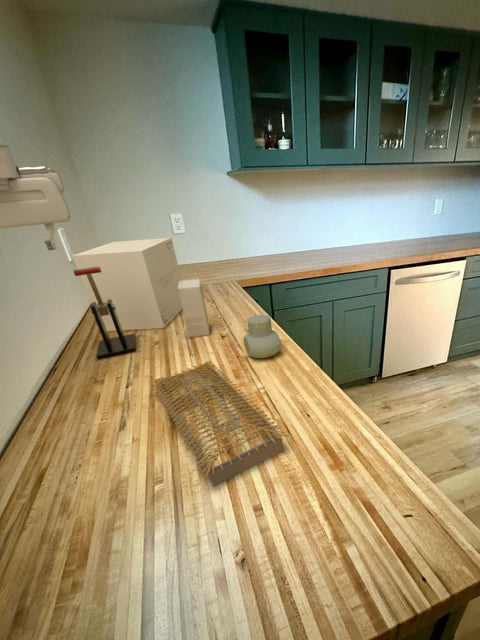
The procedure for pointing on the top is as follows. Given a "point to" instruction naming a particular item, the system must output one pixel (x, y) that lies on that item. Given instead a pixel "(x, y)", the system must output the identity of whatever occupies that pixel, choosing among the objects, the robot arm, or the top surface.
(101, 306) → the lever
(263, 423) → the rafter model
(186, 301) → the cosmetic box
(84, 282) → the cube
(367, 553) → the top surface
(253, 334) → the air freshener
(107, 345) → the bracket
